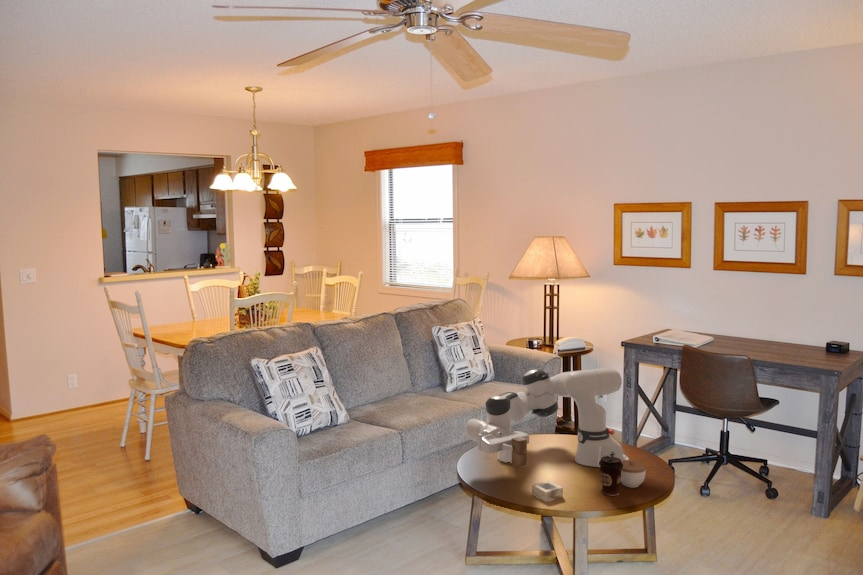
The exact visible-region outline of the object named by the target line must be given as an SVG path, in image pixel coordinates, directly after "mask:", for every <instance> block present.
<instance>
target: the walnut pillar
mask: <svg viewBox="0 0 863 575" xmlns="http://www.w3.org/2000/svg"><path fill="white" fill-rule="evenodd" d="M512 445H513V446H514V447H515V451H512V463H511V465H513V466H514V467H517V468H522V467H525V466H527V465H528V444H527V439H525V438H522V437H516V438H512Z"/></svg>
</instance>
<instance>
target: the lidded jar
mask: <svg viewBox="0 0 863 575" xmlns="http://www.w3.org/2000/svg"><path fill="white" fill-rule="evenodd" d="M621 462H622V464H623V468H622V471H621V479H620V483H621V484H622V485H623V486H624V487H627V488H632V489H633V488H635V489H636V488H639V487H640V486H641V485H642V483H643V482H644V481H645V478H646V474H647V473H646V472H647V471H646V470H647V466H646V464H645V463H643V462H641V461H638V460H631V459H629V460H623V461H621Z"/></svg>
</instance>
